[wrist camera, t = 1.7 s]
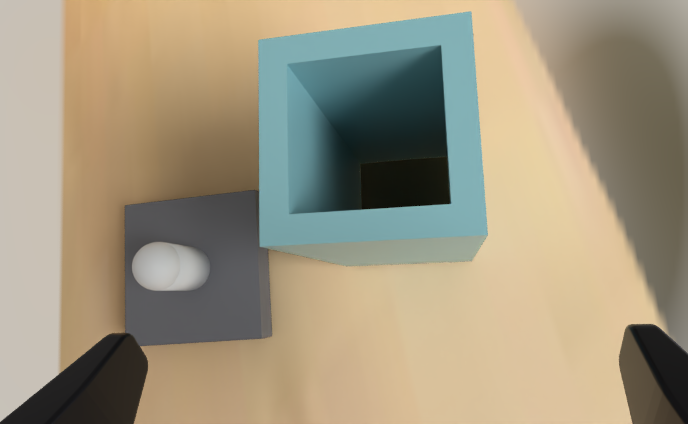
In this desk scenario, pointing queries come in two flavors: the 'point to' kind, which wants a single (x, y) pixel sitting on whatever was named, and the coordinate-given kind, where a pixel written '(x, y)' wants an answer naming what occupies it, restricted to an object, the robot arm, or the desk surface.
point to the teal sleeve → (369, 140)
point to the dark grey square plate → (196, 270)
